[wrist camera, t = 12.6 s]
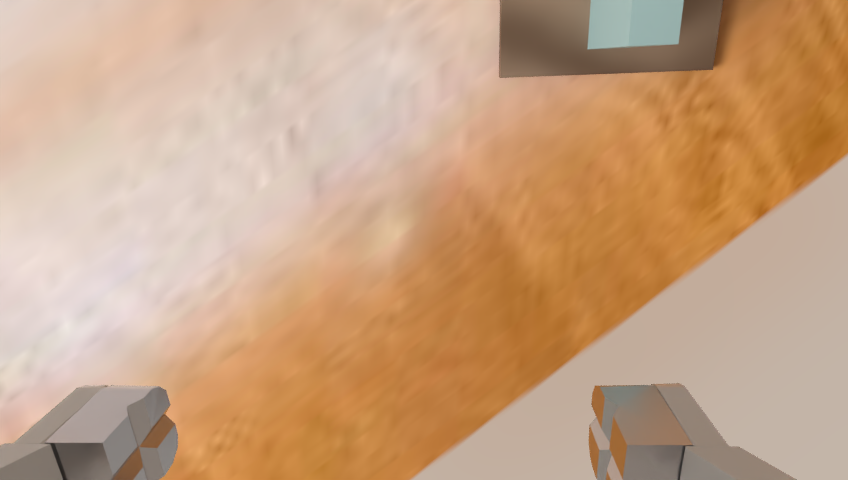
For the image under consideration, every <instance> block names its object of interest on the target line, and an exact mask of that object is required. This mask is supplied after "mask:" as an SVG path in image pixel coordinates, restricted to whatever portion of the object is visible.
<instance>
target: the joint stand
mask: <svg viewBox="0 0 848 480" xmlns="http://www.w3.org/2000/svg"><path fill="white" fill-rule="evenodd" d="M590 4H591V0H500V50H499V77H500V78H507V77H534V76H560V75H586V74H612V73H638V72H665V71H691V70H713V65H714V59H715V52H716V45H717V39H718V32H719V25H720V18H721V12H722V5H723V0H684V3H683V11H682V19H681V27H680V35H679V43H678V44H673V45H659V46H645V47H630V48H609V49H588V34H589V19H590Z"/></svg>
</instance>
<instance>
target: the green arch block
mask: <svg viewBox="0 0 848 480" xmlns="http://www.w3.org/2000/svg"><path fill="white" fill-rule="evenodd" d="M683 3H684V0H591V4H590V19H589V34H588V49H609V48H630V47H645V46H659V45H673V44H678V43H679V35H680V27H681V19H682V11H683Z"/></svg>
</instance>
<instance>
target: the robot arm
mask: <svg viewBox="0 0 848 480" xmlns="http://www.w3.org/2000/svg"><path fill="white" fill-rule="evenodd" d="M169 406H170V402H169V399H168V395H167V392H166V390H164V389H163V388H161V387H159V386H114V385H111V386H107V385H86V386H83V387H79V388H76V389H75V390H74V391H73V392H72V393H71V394H70V395H68V396H67V397H66V398H65V399H64V400H63V401H61V402H60V403H59V404H58V405H57V406H56V407H55V408H53V409H52V410H51V411H50V412H49V413H48V414H46V415H45V416H44V417H43V418H42V419H41V420H40V421H38V422H37V423H36V424H35V425H34V426H33V427H32V428H30V429H29V430H28V431H27V432H26V433H25V434H23V435H22V436H21V437H20V438H19V439H18V440H17V441H15V442H14V443H13V444H3V445H1V446H0V480H159V479H160V478H162V477H163V476H165V474H166V473H167V471H168V470H169V468H170V466H171V465H172V463H173V460H174V457H175V454H176V451H177V447H178V434H177V430H176V425H175V423H174V422H173V421H172V420H170V419H169V418H168V417H167V416H166V415H165V413H166V412H167V410H168V408H169ZM592 407H593V410H594V412H595V414H596V419H595V420H594V421H593V422H592V423H591V424H590V428H589V449H590V457H591V462H592V467H593V470H594V473H595V476H596V478H597V480H796V479H794V478H793V477H791V476H789V475H787V474H786V473H784V472H782V471H780V470H779V469H777V468H775V467H773V466H772V465H769V464H768V463H766V462H765V461H763V460H761V459H759V458H758V457H756V456H754V455H752V454H751V453H749V452H747V451H745V450H743V449H742V448H740V447H730V446H729V445H728V444H727V443H726V441H725V440H724V439H723V437H722V436H721V435H720V433H719V432H718V431H717V429H716V428H715V427H714V425H713V424H712V422H711V421H710V420H709V418H708V417H707V416H706V414H705V413H704V412H703V410H702V409H701V408H700V406H699V405H698V404H697V402H696V401H695V400H694V398H693V397H692V396H691V394H690V393H689V392H688V390H687V389H686V388H685V386H683V385H681V384H679V383H676V384H651V385H628V386H627V385H626V386H624V385H623V386H595V388H594V391H593V395H592Z"/></svg>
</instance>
